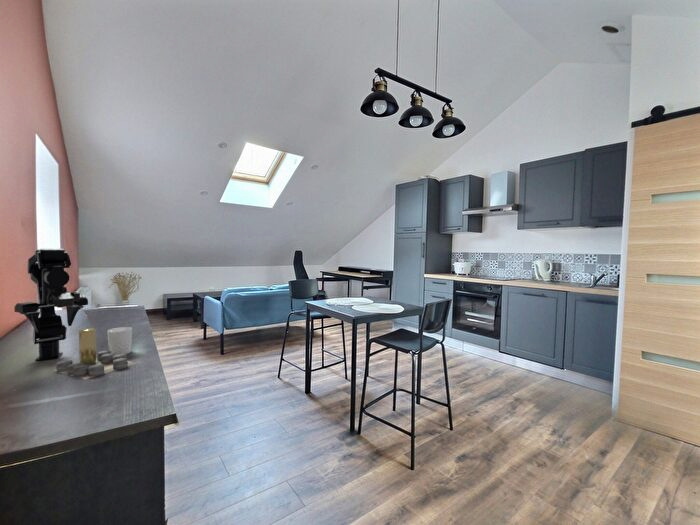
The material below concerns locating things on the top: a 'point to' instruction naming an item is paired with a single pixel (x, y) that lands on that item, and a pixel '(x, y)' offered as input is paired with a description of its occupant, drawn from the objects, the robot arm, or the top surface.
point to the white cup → (120, 340)
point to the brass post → (87, 346)
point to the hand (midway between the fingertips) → (54, 328)
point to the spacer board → (103, 365)
